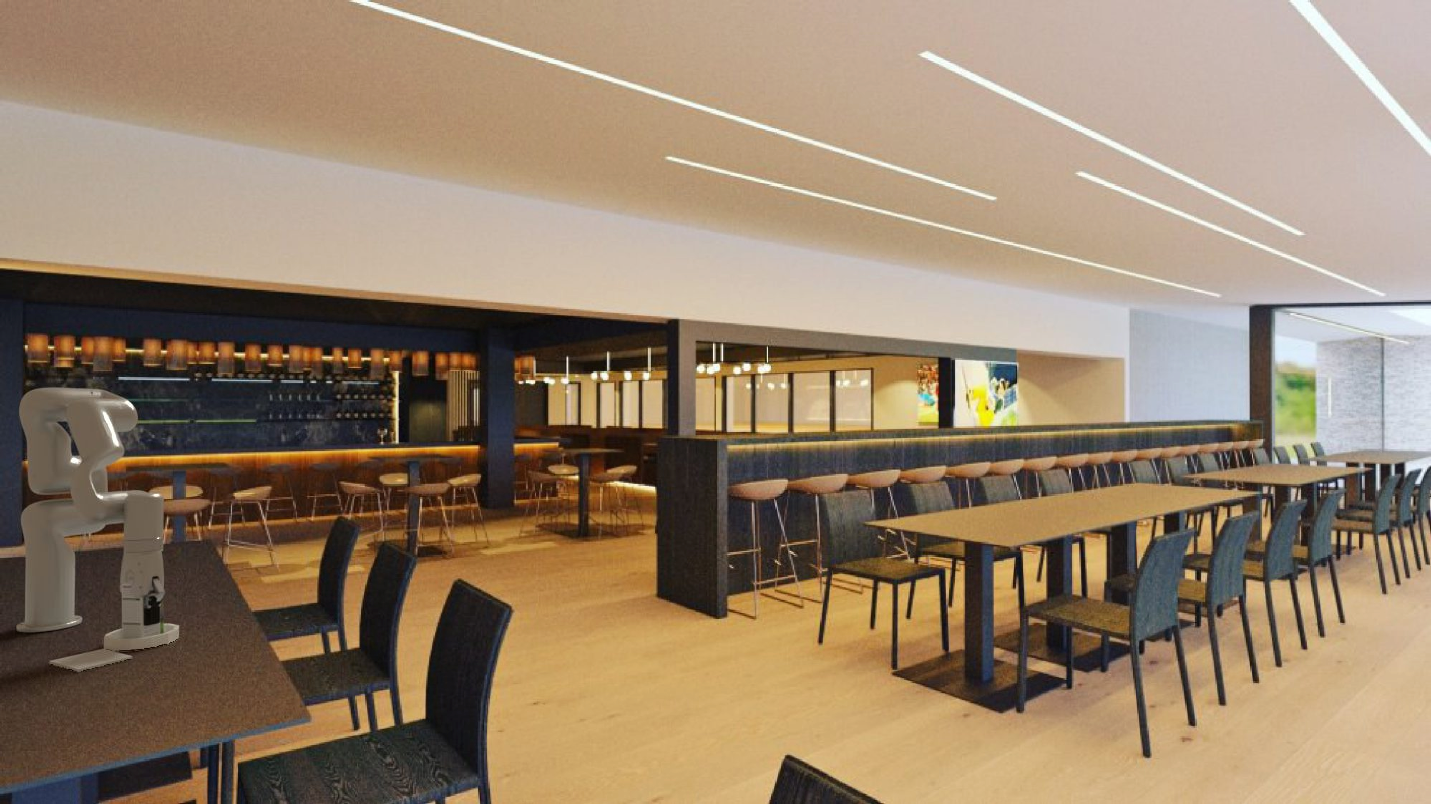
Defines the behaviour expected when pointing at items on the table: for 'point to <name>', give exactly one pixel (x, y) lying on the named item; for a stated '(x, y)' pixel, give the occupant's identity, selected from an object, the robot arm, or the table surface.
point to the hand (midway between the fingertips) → (142, 621)
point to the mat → (90, 660)
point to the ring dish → (141, 639)
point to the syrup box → (137, 616)
